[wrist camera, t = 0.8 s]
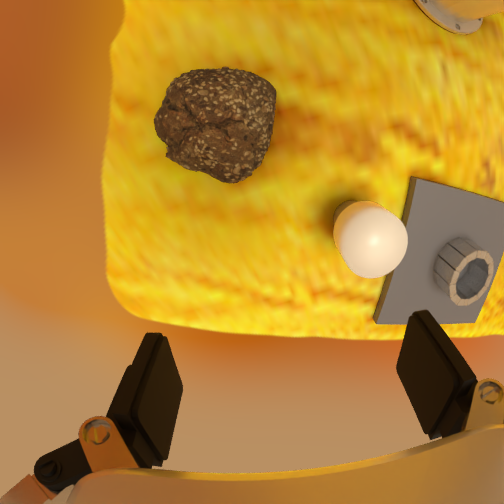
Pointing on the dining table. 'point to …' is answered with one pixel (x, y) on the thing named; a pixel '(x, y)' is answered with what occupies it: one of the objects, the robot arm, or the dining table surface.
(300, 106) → the dining table surface
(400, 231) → the plug
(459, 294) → the square plate with socket
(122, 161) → the dining table surface
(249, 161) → the seeded bread roll
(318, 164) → the dining table surface
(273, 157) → the dining table surface
